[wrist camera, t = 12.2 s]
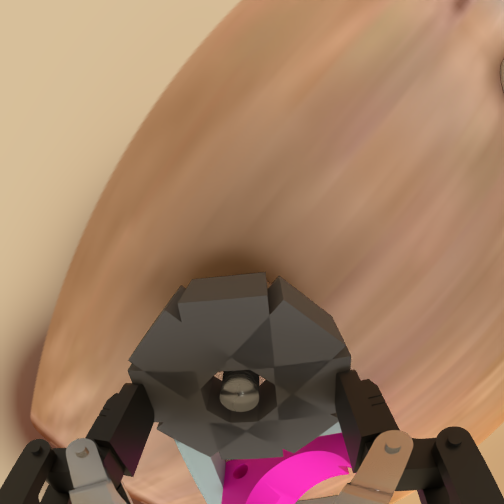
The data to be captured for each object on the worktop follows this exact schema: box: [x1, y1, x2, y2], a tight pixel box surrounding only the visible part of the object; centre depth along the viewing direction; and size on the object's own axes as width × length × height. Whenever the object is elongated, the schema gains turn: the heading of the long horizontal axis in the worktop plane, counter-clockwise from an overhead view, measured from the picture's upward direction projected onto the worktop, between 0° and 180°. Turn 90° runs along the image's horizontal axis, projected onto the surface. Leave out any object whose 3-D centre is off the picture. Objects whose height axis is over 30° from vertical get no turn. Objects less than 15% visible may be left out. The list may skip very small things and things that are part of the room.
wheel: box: [128, 272, 351, 460], centre depth 12 cm, size 9×9×2 cm
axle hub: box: [220, 281, 271, 412], centre depth 16 cm, size 4×4×10 cm
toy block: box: [221, 433, 357, 504], centre depth 21 cm, size 15×6×8 cm, turn 128°
